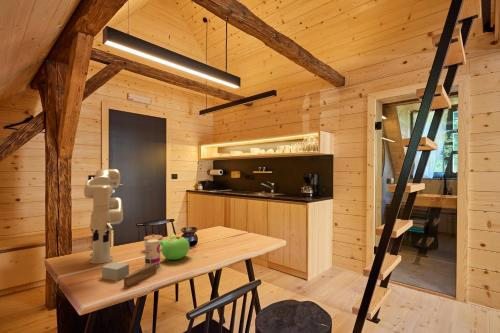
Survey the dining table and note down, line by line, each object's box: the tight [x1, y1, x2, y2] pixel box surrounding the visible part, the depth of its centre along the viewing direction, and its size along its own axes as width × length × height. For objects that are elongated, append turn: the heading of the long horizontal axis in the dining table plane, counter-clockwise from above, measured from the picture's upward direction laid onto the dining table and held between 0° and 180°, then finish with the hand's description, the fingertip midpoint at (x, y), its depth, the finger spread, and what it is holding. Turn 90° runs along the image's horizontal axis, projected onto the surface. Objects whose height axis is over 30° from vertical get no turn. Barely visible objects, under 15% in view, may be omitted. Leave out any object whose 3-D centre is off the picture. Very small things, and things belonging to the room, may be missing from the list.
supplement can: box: [144, 239, 161, 268], centre depth 157 cm, size 8×8×15 cm
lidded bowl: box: [143, 233, 164, 248], centre depth 188 cm, size 13×13×11 cm
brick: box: [101, 261, 130, 282], centre depth 142 cm, size 10×8×6 cm
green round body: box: [160, 233, 191, 261], centre depth 170 cm, size 18×17×15 cm
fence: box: [123, 263, 157, 289], centre depth 138 cm, size 2×20×5 cm, turn 159°
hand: (100, 241), depth 146 cm, fingers open, 6 cm apart
